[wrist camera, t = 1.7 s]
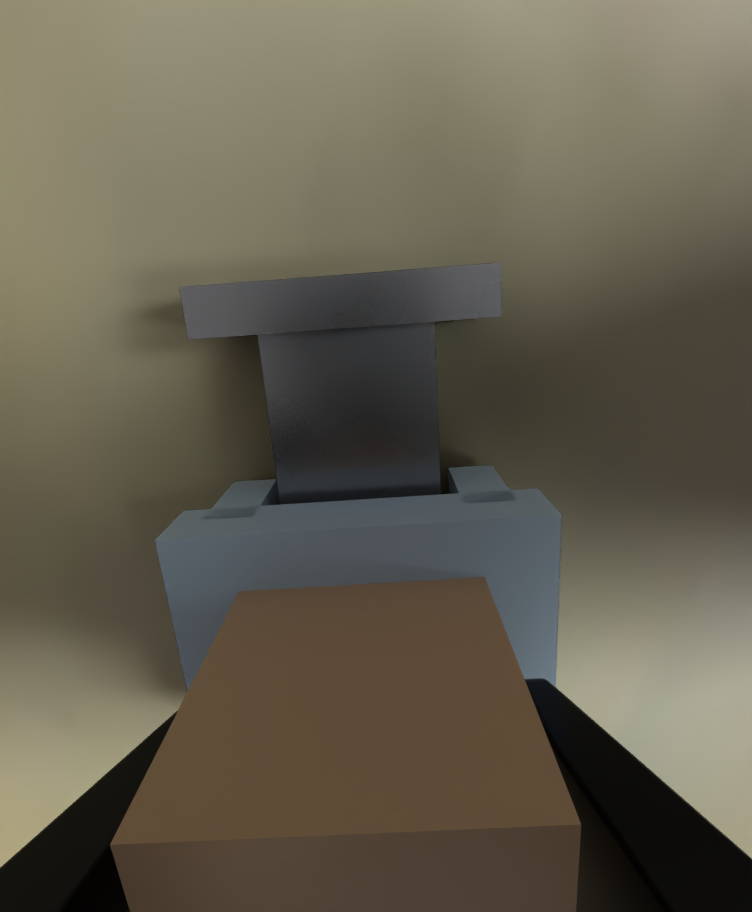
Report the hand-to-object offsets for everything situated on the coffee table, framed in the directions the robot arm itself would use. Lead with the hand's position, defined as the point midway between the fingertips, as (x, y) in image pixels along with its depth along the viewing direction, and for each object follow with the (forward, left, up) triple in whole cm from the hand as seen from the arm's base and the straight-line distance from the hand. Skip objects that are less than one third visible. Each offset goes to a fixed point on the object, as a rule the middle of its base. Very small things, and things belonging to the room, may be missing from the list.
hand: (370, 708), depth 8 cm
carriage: (0, 0, -4) cm, 4 cm away
